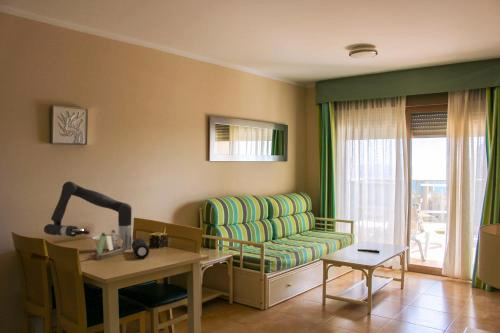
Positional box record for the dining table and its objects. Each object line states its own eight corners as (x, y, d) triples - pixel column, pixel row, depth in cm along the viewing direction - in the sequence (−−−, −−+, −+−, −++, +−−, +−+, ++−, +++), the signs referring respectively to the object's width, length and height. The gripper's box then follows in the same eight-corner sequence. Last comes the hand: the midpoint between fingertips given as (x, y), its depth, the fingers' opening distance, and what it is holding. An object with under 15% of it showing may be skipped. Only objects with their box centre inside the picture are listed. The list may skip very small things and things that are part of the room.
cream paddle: (107, 250, 291) (105, 236, 292) (111, 249, 295) (109, 235, 295) (109, 250, 290) (106, 236, 291) (113, 249, 294) (110, 235, 295)
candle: (167, 246, 327) (167, 233, 327) (159, 248, 318) (159, 235, 318) (156, 244, 331) (157, 232, 331) (148, 247, 322) (148, 234, 322)
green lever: (95, 253, 281) (100, 232, 280) (99, 252, 284) (104, 231, 283) (98, 254, 280) (103, 233, 279) (102, 253, 283) (107, 233, 282)
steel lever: (113, 249, 297) (110, 230, 298) (116, 248, 300) (113, 230, 301) (116, 248, 296) (112, 230, 297) (119, 248, 299) (115, 229, 300)
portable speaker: (131, 251, 305) (131, 238, 304) (145, 251, 308) (145, 237, 308) (134, 259, 281) (134, 244, 280) (149, 258, 284) (150, 244, 284)
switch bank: (90, 258, 281) (90, 251, 281) (114, 251, 302) (114, 245, 302) (101, 259, 278) (101, 252, 278) (124, 253, 299) (124, 246, 299)
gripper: (61, 227, 287) (81, 228, 280) (76, 224, 299) (95, 225, 292) (61, 238, 287) (81, 239, 280) (76, 234, 299) (95, 236, 292)
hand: (88, 232), depth 286 cm, fingers closed
